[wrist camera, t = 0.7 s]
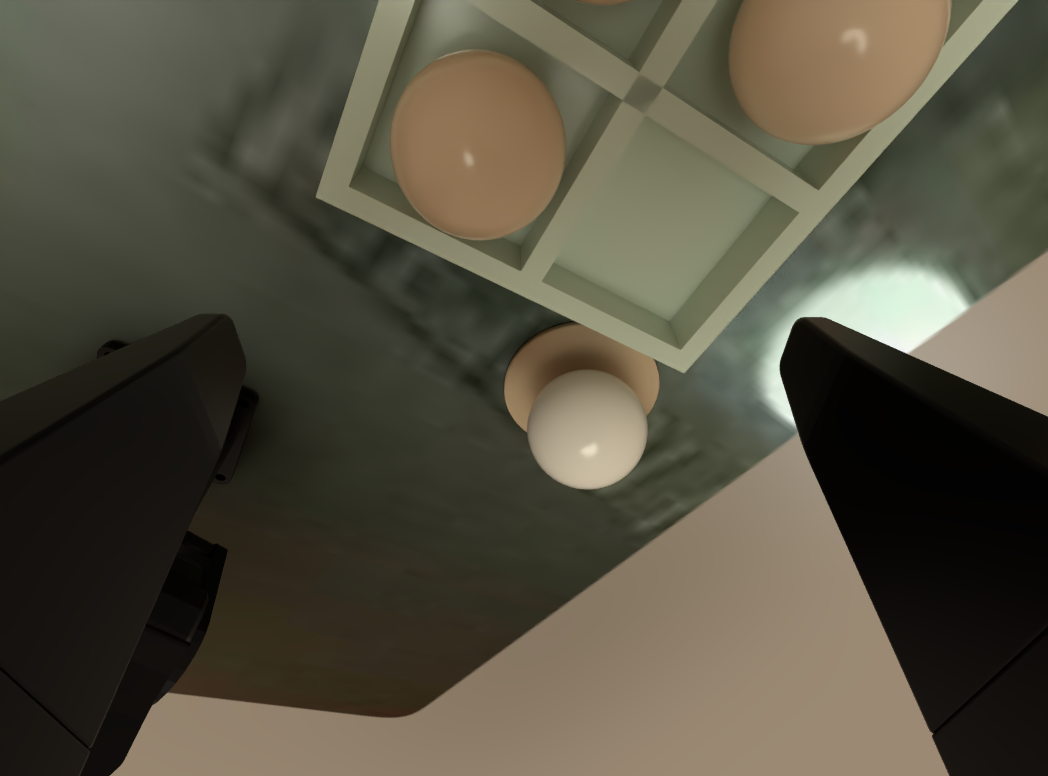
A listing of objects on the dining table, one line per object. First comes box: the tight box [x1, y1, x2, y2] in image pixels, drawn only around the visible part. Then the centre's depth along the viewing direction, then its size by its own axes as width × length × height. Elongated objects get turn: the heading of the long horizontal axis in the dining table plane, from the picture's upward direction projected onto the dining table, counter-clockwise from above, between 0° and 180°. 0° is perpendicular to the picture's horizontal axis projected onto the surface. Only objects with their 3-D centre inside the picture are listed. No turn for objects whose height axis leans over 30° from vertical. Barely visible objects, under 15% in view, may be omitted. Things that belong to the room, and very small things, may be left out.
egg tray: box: [316, 0, 1018, 373], centre depth 17 cm, size 14×14×3 cm
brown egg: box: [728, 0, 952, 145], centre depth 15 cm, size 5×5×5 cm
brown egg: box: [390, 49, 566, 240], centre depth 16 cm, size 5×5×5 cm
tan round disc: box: [504, 322, 659, 432], centre depth 26 cm, size 7×7×1 cm
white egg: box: [527, 369, 648, 489], centre depth 24 cm, size 5×5×5 cm
